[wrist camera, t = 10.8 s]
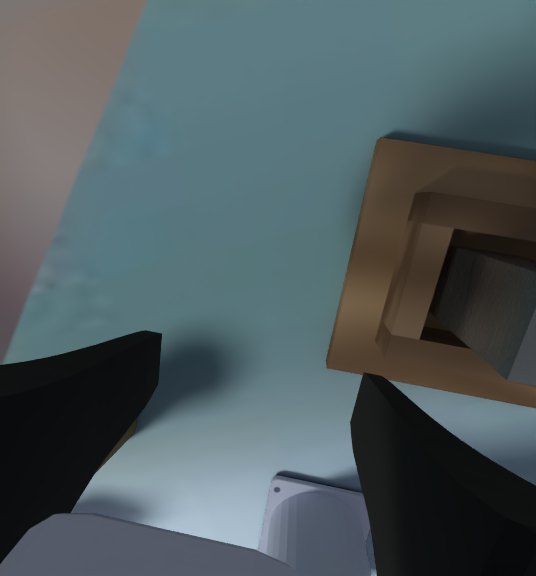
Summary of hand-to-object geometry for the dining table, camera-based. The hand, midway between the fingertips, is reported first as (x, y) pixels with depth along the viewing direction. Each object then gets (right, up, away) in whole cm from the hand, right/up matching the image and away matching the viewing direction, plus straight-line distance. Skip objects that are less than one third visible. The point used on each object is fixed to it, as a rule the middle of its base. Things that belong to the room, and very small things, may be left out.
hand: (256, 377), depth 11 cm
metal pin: (+12, +3, +8) cm, 15 cm away
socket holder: (+12, +4, +9) cm, 15 cm away
